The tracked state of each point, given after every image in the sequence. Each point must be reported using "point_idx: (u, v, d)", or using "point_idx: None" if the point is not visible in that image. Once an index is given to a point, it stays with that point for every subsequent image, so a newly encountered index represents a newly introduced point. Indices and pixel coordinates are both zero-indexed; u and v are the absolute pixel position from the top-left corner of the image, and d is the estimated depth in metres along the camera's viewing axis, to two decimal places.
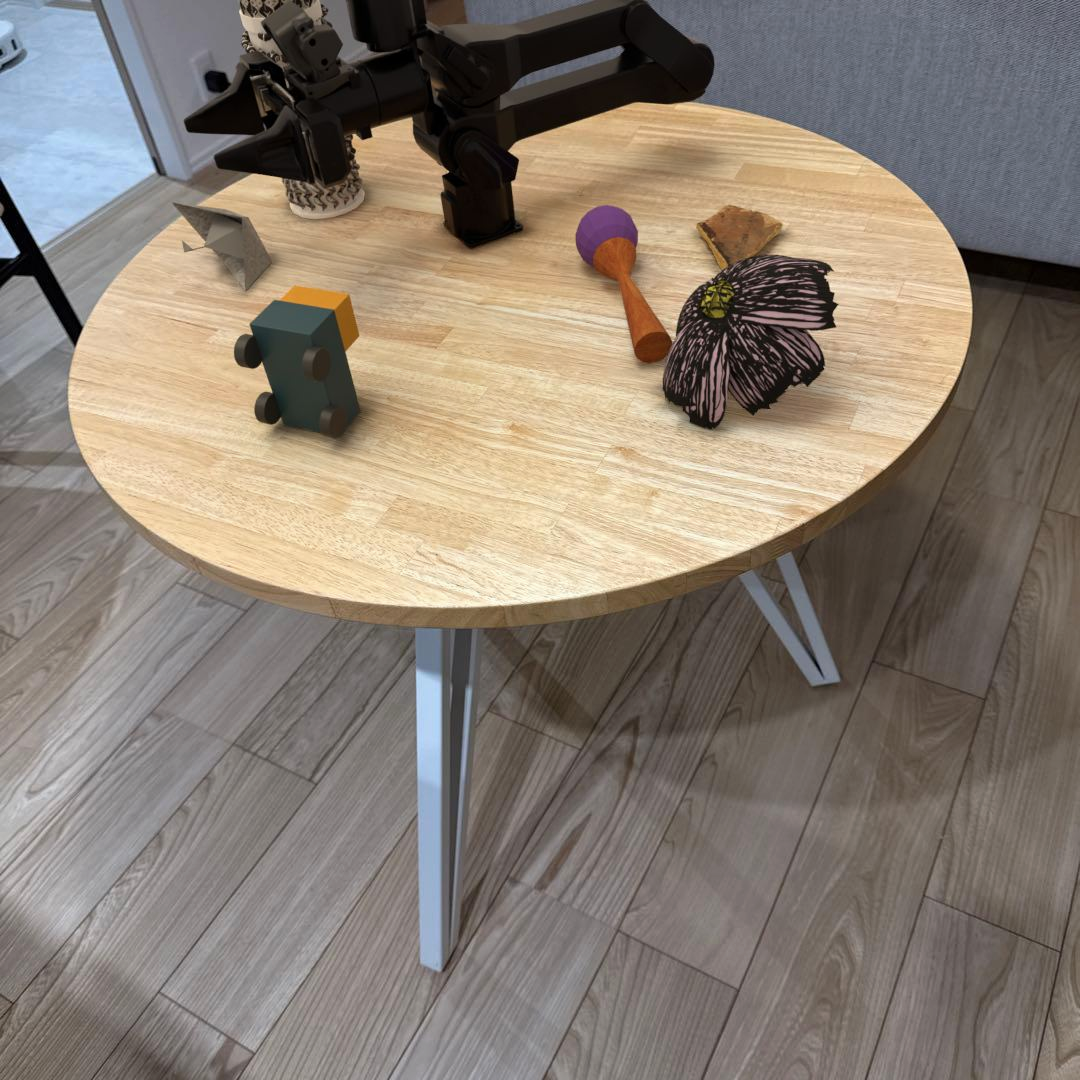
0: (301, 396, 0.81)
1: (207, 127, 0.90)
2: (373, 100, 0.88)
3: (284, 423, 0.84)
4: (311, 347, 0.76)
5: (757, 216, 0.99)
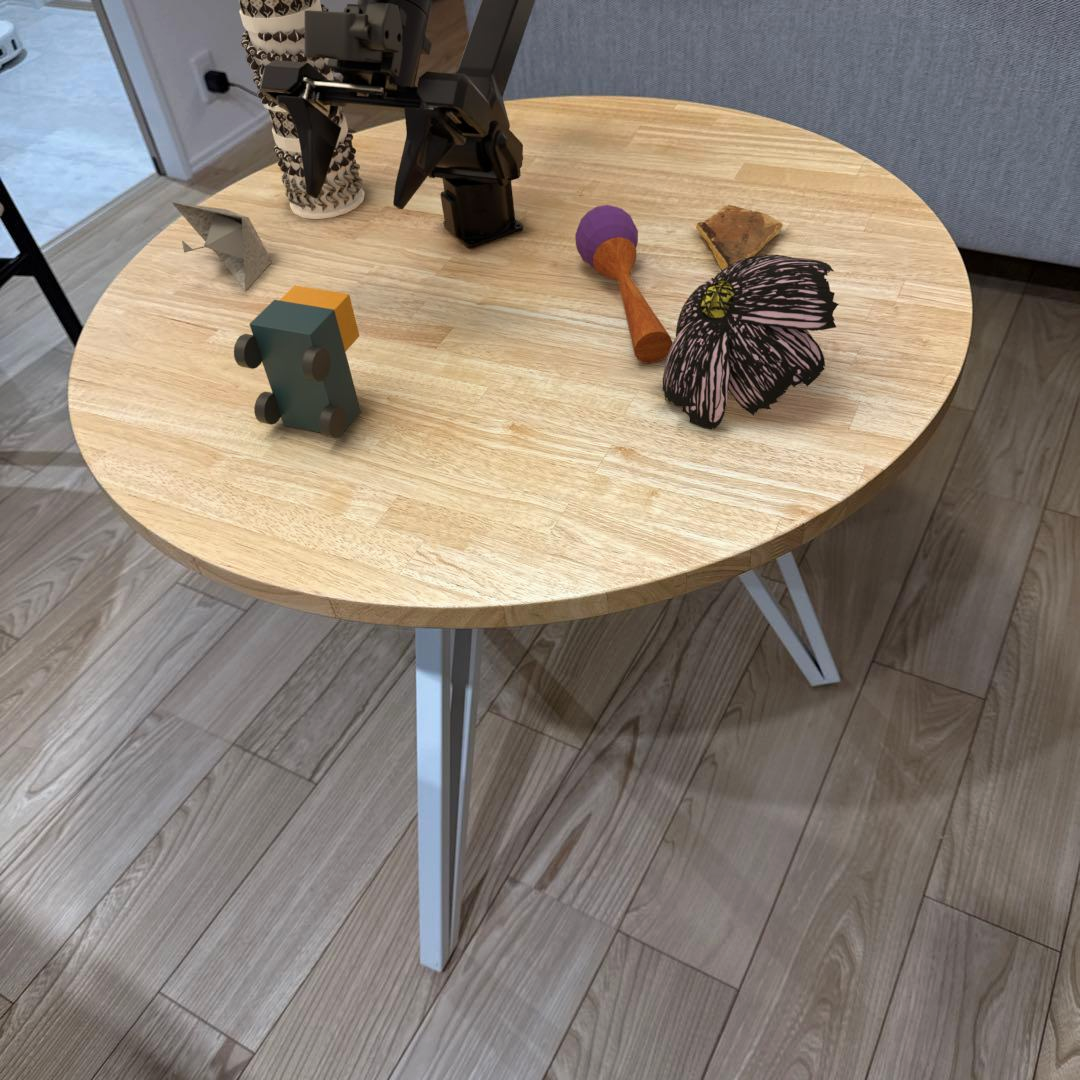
0: (301, 396, 0.81)
1: (321, 177, 0.84)
2: (420, 15, 0.80)
3: (284, 423, 0.84)
4: (311, 347, 0.76)
5: (757, 216, 0.99)
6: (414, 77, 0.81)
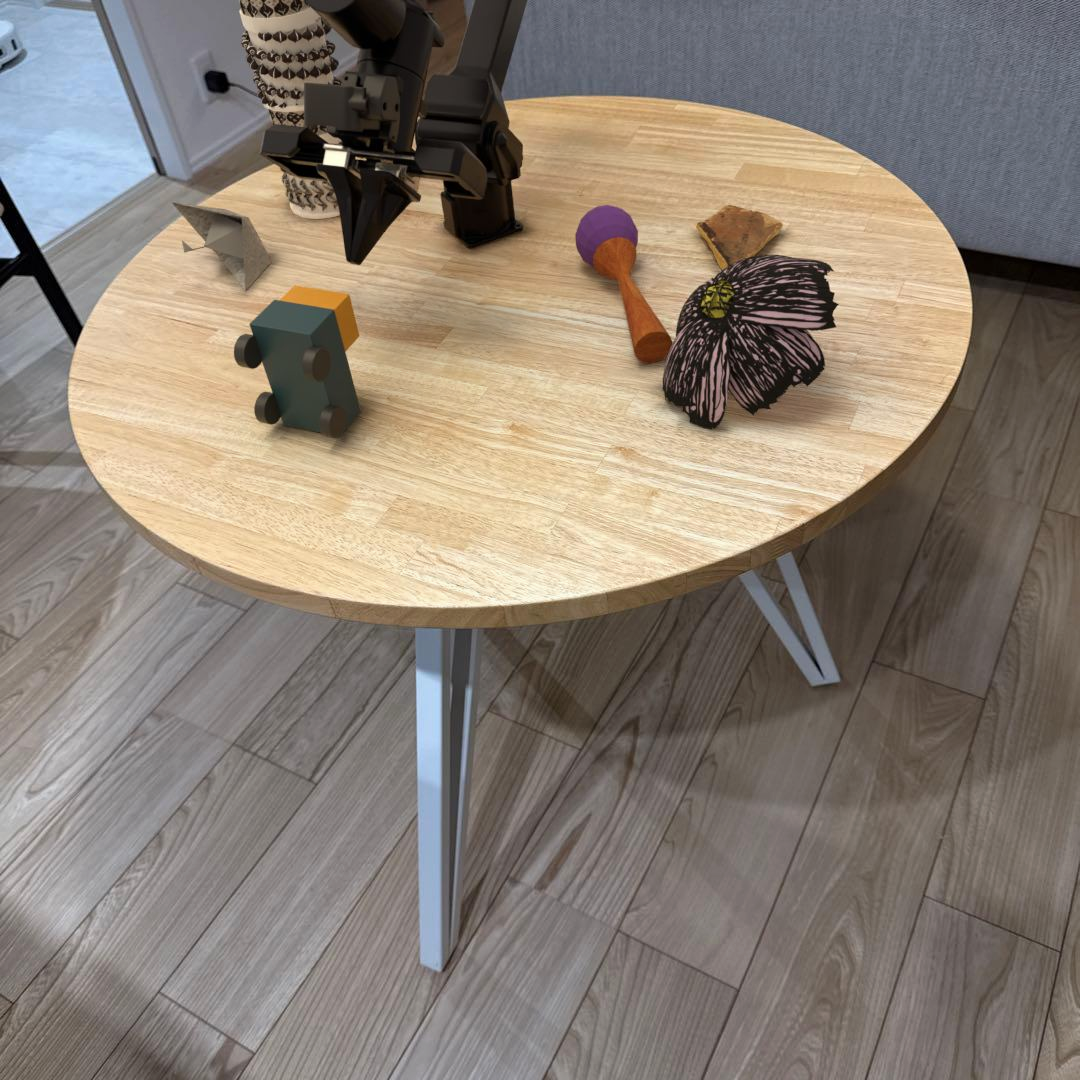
0: (301, 396, 0.81)
1: None
2: (417, 81, 0.81)
3: (284, 423, 0.84)
4: (311, 347, 0.76)
5: (757, 216, 0.99)
6: (411, 141, 0.83)
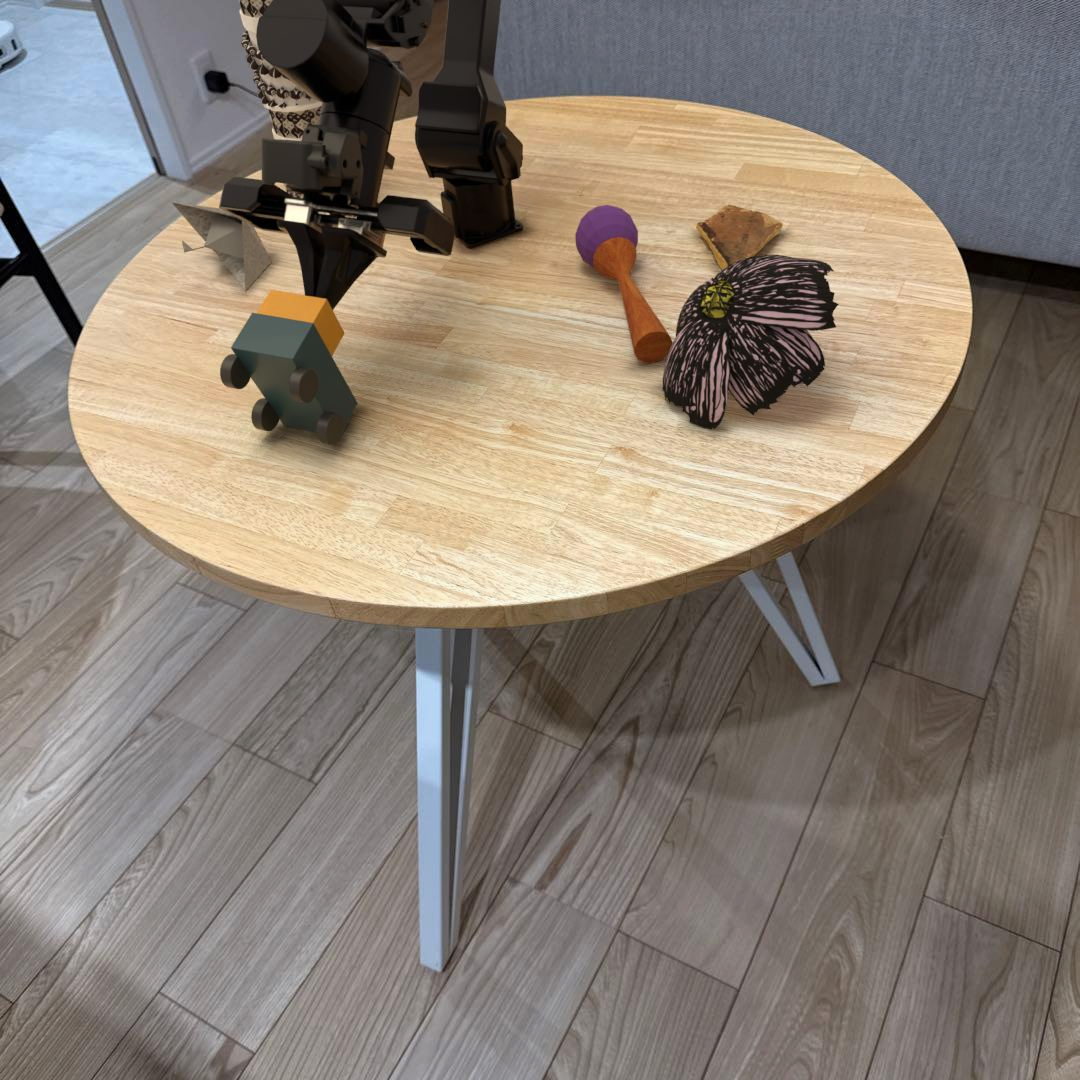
0: (295, 405, 0.80)
1: None
2: (382, 134, 0.78)
3: (284, 424, 0.84)
4: (295, 370, 0.74)
5: (757, 216, 0.99)
6: (376, 195, 0.80)
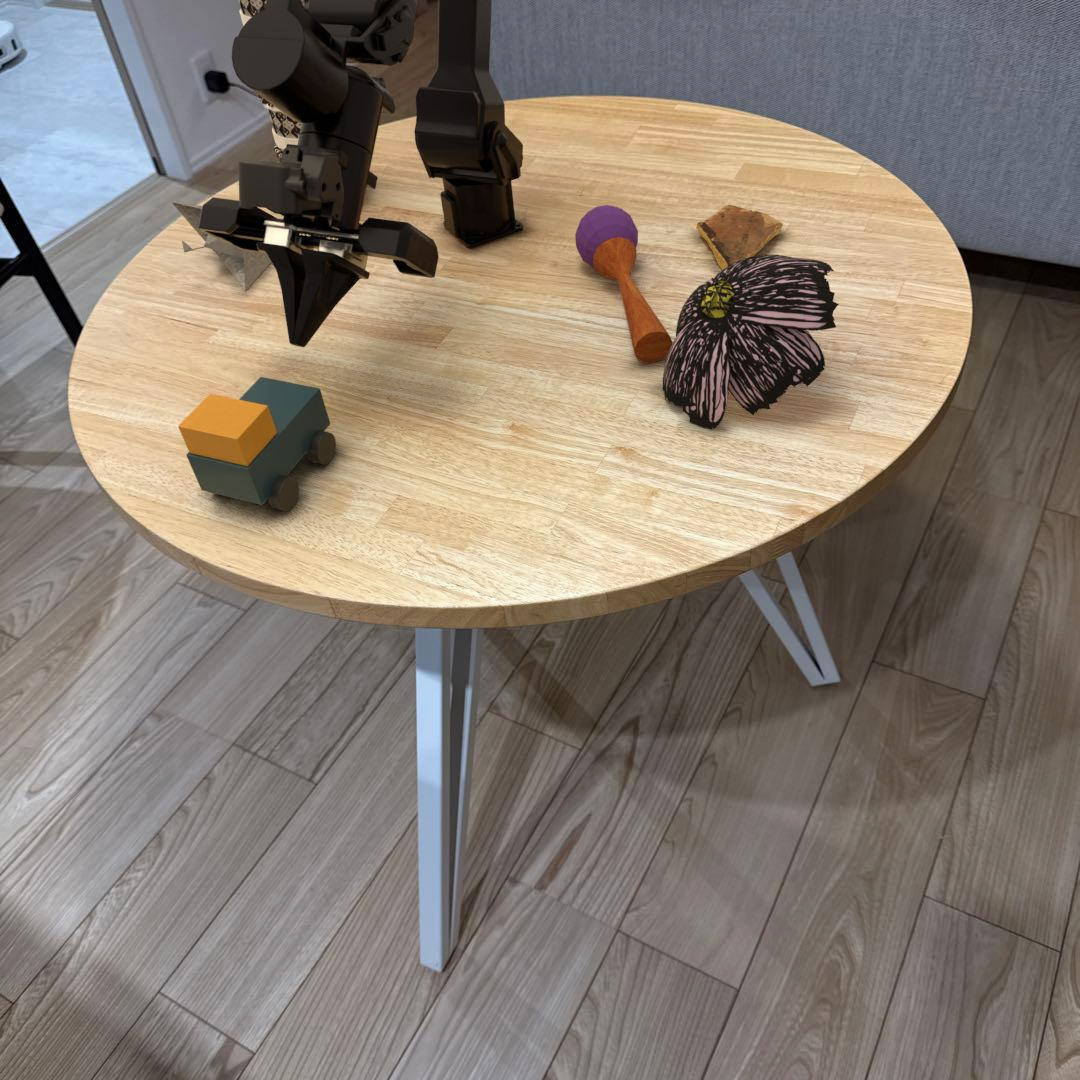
0: None
1: None
2: (363, 154, 0.77)
3: None
4: (270, 500, 0.75)
5: (757, 216, 0.99)
6: (358, 216, 0.78)
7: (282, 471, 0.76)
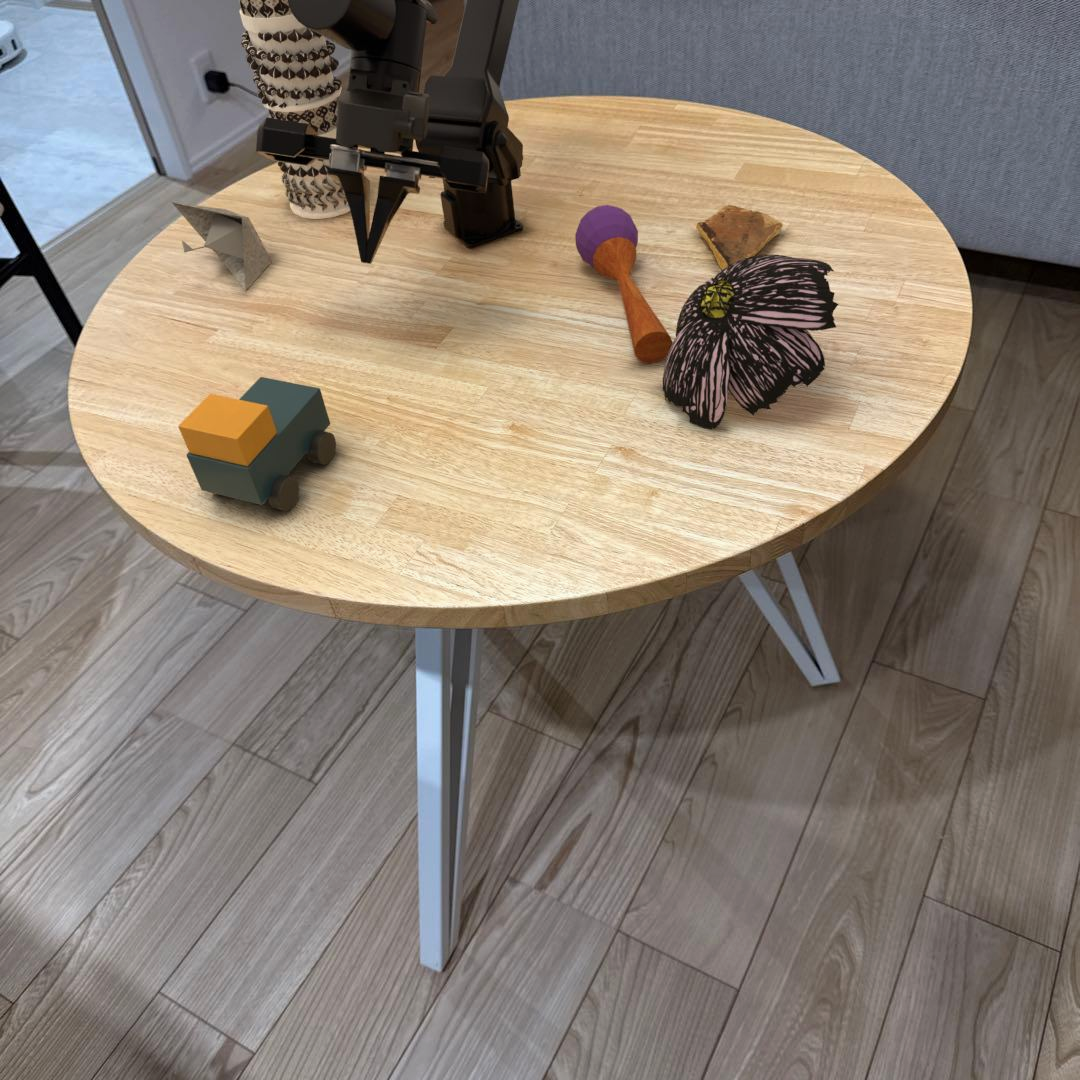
0: None
1: None
2: (419, 77, 0.82)
3: None
4: (270, 500, 0.75)
5: (757, 216, 0.99)
6: None
7: (282, 471, 0.76)
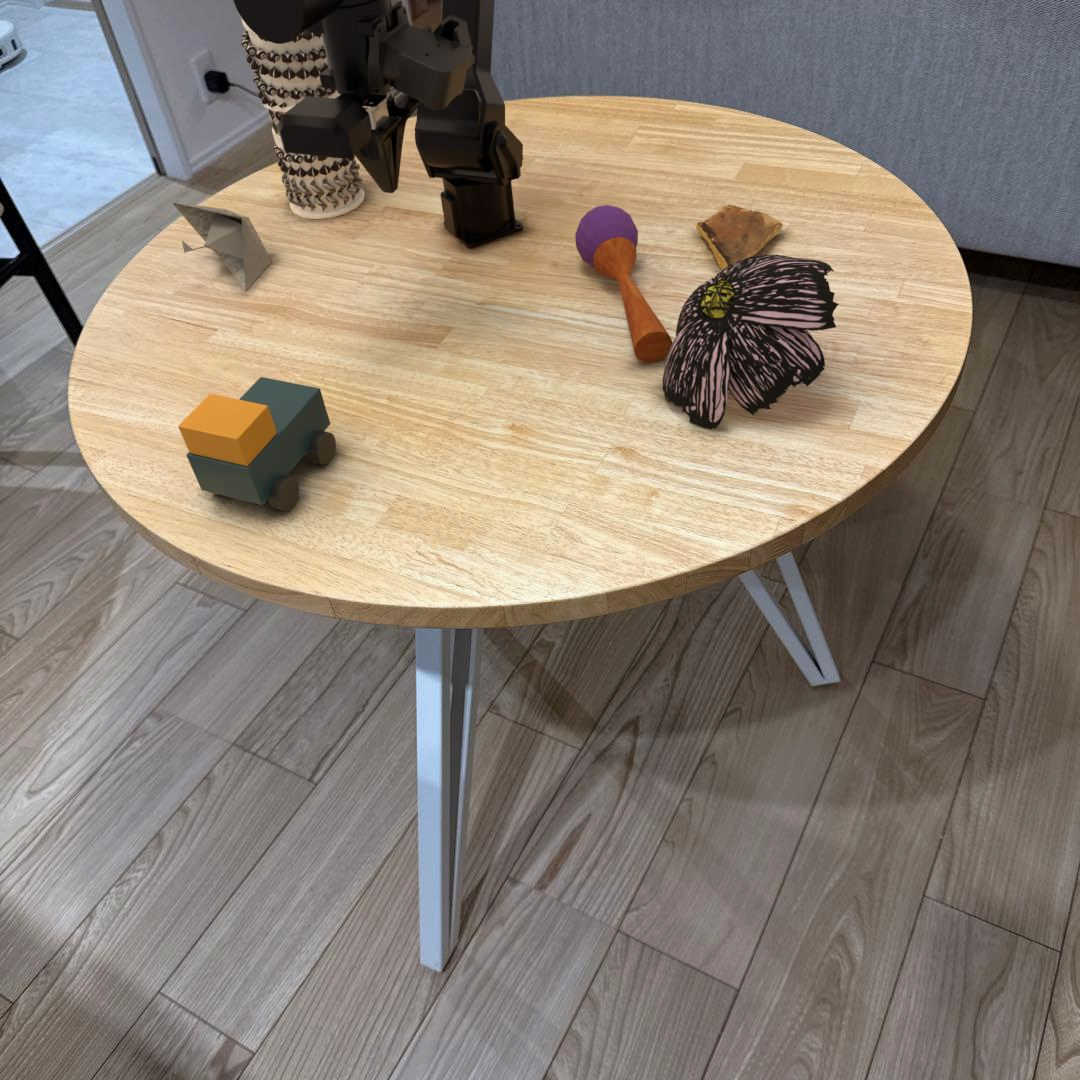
0: None
1: None
2: None
3: None
4: (270, 500, 0.75)
5: (757, 216, 0.99)
6: None
7: (282, 471, 0.76)
